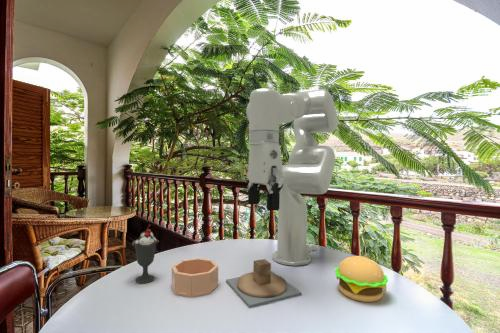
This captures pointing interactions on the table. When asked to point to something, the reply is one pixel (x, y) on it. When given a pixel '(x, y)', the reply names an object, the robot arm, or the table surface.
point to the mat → (255, 301)
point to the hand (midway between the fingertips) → (262, 206)
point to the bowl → (194, 277)
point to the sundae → (145, 254)
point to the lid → (261, 281)
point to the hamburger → (361, 279)
